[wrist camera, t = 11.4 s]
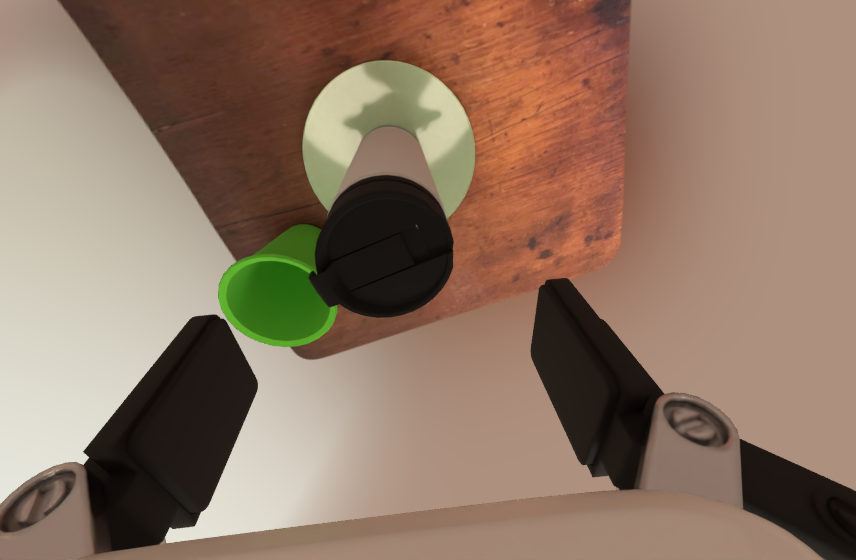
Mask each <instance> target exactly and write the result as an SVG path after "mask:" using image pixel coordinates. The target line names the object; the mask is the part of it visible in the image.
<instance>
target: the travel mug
mask: <svg viewBox="0 0 856 560" xmlns="http://www.w3.org/2000/svg"><path fill="white" fill-rule="evenodd" d="M453 243H454V242H453V238H452V234H451V230H450V227H449V224H448V220H447V216H446V213H445V210H444V207H443V204H442V202H441V199H440V196H439V194H438V191H437V188H436V185H435V183H434V180H433V177H432V175H431V172H430V169H429V167H428V164H427V161H426V158H425V156H424V153H423V150H422V148H421V146H420V144H419V142H418V141H417V139H416V138H415V137H414V136H413V135H412V134H411V133H410V132H409V131H407V130H405V129H403V128H401V127H398V126H392V125H386V126H380V127H377V128H375V129H373V130H371V131H370V132H369V133H368V134H366V135H365V136H364V138H363V139H362V141H361V142H360V144H359V147H358V149H357V151H356V153H355V155H354V157H353V159H352V161H351V164H350V166H349V168H348V170H347V172H346V174H345V176H344V179H343V181H342V183H341V185H340V187H339V189H338V191H337V194H336V196H335V198H334V200H333V202H332V204H331V207H330V209H329V211H328V214H327V218H326V220H325V223H324V225H323V227H322V229H321V232H320V234H319V236H318V238H317V242H316V248H315V265H316V271H317V274H316V273H315V272H314V271H311V272H310V275H309V277H308V278H309V280H310V282H311V284H312V286H313V287H314V289H315V290H316V292H317V293H318V295H319V296H320V297H321V299H322V300H323V301H324V302H325V304H326V305H327V306H328V307H333V306H336V305H338V304H340V305H342V306H343V307H345V308H347V309H348V310H350V311H352V312H355V313H358V314H361V315H364V316H370V317H377V318H381V317H394V316H400V315H404V314H406V313H409V312H412V311H415V310H416V309H418V308H420V307H422V306H424V305H425V304H427V303H428V302H429V301H430V300H432V299H433V298H434V297H435V296H436V295H437V294H438V293H439V292H440V291H441V290H442V288H443V287H444V285H445V284H446V282H447V280H448V279H449V276H450V274H451V271H452V269H453V250H452V249H453Z"/></svg>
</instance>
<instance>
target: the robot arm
mask: <svg viewBox="0 0 856 560" xmlns="http://www.w3.org/2000/svg"><path fill="white" fill-rule="evenodd" d="M531 357H532V360H533V362H534V365H535V367H536V369H537V371H538V374H539V376H540V378H541V380H542V382H543V384H544V387H545V389H546V391H547V393H548V395H549V397H550V400H551V402H552V404H553V406H554V408H555V410H556V412H557V415H558V417H559V419H560V421H561V423H562V426H563V428H564V430H565V432H566V434H567V436H568V439H569V441H570V443H571V445H572V447H573V450H574V451H575V454H576V456H577V458H578V460H579V462H580V463H581V464H582V465H587V466H588V468H589V470H590V472H591V474H592V477H600V476H608V475H609V477H610V479H611V481H612V483H613V485H614V486H616V487H617V489H616V491H598V492H588V493H578V494H568V495H558V496H548V497H538V498H529V499H520V500H512V501H503V502H495V503H487V504H478V505H470V506H461V507H452V508H444V509H435V510H427V511H419V512H411V513H403V514H394V515H387V516H378V517H370V518H363V519H354V520H346V521H338V522H331V523H322V524H314V525H306V526H298V527H290V528H282V529H274V530H266V531H259V532H252V533H244V534H235V535H228V536H220V537H213V538H205V539H197V540H190V541H181V542H174V543H167V544H166V540H165V536H166V534H167V532H168V530H169V528H170V527H171V528H172V529H176V528H185V527H192V526H195V524H196V522H197V520H198V518H199V515H200V513H201V512H202V511H204V510H205V509H206V508H207V507H208V505H209V503H210V501H211V499H212V496H213V494H214V491H215V489H216V487H217V484H218V482H219V480H220V477H221V475H222V473H223V470H224V468H225V466H226V463H227V461H228V458H229V456H230V454H231V451H232V449H233V447H234V444H235V442H236V440H237V437H238V435H239V433H240V430H241V428H242V425H243V423H244V421H245V418H246V416H247V414H248V411H249V409H250V407H251V404H252V402H253V399H254V397H255V395H256V392H257V389H258V382H257V379H256V377H255V375H254V373H253V371H252V369H251V367H250V366H249V364H248V362H247V360H246V358H245V356H244V354H243V352H242V350H241V348H240V346H239V344H238V343H237V341H236V339H235V337H234V335H233V333H232V331H231V329H230V327H229V326H228V324H227V322H226V320H224V319H220V317H218V316H217V315H204V316H195V317H192V318H191V319H190V320H189V321H188V322H187V324H186V325H185V326H184V327H183V329H182V330H181V331H180V332H179V334H178V335H177V336H176V337H175V338H174V340H173V341H172V342H171V343H170V345H169V346H168V347H167V348H166V350H165V351H164V352H163V353H162V355H161V356H160V357H159V358H158V360H157V361H156V362H155V364H153V366H152V367H151V368H150V370H149V371H148V372H147V373H146V374H145V376H144V377H143V378H142V379H141V381H140V382H139V383H138V384H137V386H136V387H135V388H134V389H133V391H132V392H131V393H130V394H129V395H128V397H127V398H126V399H125V400H124V402H123V403H122V404H121V406H120V407H119V408H118V409H117V410H116V412H115V413H114V414H113V415H112V417H111V418H110V419H109V420H108V422H107V423H106V424H105V425H104V427H103V428H102V429H101V430H100V431H99V433H98V434H97V435H96V437H95V438H94V439H93V440H92V441H91V443H90V444H89V445H88V446H87V448H86V449H85V450H84V451H83V452H84V453H85V454H86V455H87V456H88V457H89V459H88V460H87V461H86V462H85V464H84V465H82V464H79V463H77V462H68V463H63V464H60V465H57V466H53V467H51V468H49V469H47V470H45V471H43V472H41V473H39V474H37V475H36V476H34V477H32V478H31V479H29V480H28V481H26V482H25V483H23V484H22V485H21V486H20V487H18V488H17V489H16V490H15V491H14V492H12V493H11V494H10V495H9V496H8V497H7V498H6V499H5V500H4V501H3V502H2V503H1V505H0V560H856V491H854V490H852V489H850V488H848V487H846V486H843V485H841V484H839V483H837V482H835V481H832V480H830V479H828V478H826V477H824V476H821V475H819V474H817V473H815V472H812V471H810V470H808V469H806V468H804V467H801V466H799V465H797V464H795V463H792V462H790V461H788V460H786V459H784V458H781V457H779V456H777V455H775V454H772V453H770V452H768V451H766V450H764V449H761V448H759V447H757V446H755V445H753V444H750V443H748V442H746V441H744V440H742V439H739V435H738V431H737V429H736V427H735V426H734V424H733V423H732V421H731V420H730V419H729V418H728V417H727V416H726V415H725V414H724V413H723V412H722V411H721V410H720V409H718V408H717V407H715V406H714V405H712V404H711V403H709V402H707V401H705V400H703V399H701V398H699V397H697V396H693V395H689V394H686V393H674V392H673V393H668V394H664V393H663V392H662V390H661V389H660V388H659V387H658V385H657V384H656V383H655V382H654V380H653V379H652V378H651V377H650V376H649V374H648V373H647V372H646V371H645V370H644V368H643V367H642V366H641V365H640V363H639V362H638V361H637V360H636V358H635V357H634V356H633V355H632V354H631V352H630V351H629V350H628V349H627V347H626V346H625V345H624V344H623V343H622V341H621V340H620V339H619V338H618V336H617V335H616V334H615V333H614V331H613V330H612V329H611V328H610V326H609V325H608V324H607V323H606V322H605V321H604V320H602V319H600V318H599V317H598V315H597V314H596V313H595V312H594V310H593V309H592V308H591V307H590V305H589V304H588V303H587V302H586V300H585V299H584V298H583V297H582V295H581V294H580V293H579V292H578V290H577V289H576V288H575V287H574V285H573V284H572V283H571V282H570V280H569V279H567V278H560V279H551V280H547V281H546V282H545V285H541V286H540V288H539V293H538V301H537V308H536V315H535V323H534V329H533V336H532V344H531Z"/></svg>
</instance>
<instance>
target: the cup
mask: <svg viewBox="0 0 856 560" xmlns="http://www.w3.org/2000/svg"><path fill="white" fill-rule="evenodd" d="M320 232H321V229H319V228H318V227H315V226H313V225H307V224H299V225H296V226H293V227H291V228H289V229H288V230H286V231H285V232H284V233H282V234H281V235H280V236H278V237H277V238H276V239H274V240H273V241H271V242H270V243H269V244H267V245H266V246H265V247H263V248H262V249H261V250H259V251H258V252H257V253H255V254H254V255H252V256H250V257H247V258H243V259H241V260H240V261H238V262H236V263H235V264H233V265H231V266H230V267H229V269H228V270H227V271H226V272H225V273H224V274H223V276H222V279H221V281H220V283H219V291H218V298H219V302H220V306H221V309H222V311H223V313H224V314H225V316H226V318H227V320H228V321H229V322H230V323H231V324H232V325H233V326H234V327H235V328H236V329H237V330H239V331H240V332H242V333H243V334H244V335H246V336H248V337H250V338H252V339H254V340H256V341H258V342H262V343H265V344H269V345H272V346H282V347H290V346H299V345H303V344H307V343H310V342H312V341H314V340H316V339H318V338H320V337H321V336H322V335H323V334H324V333H326V332H327V331H328V330H329V329H330V327H331V326H332V324H333V323H334V321H335V317H336V314H337V305H336V306H333V307H328V306H327V305H326V304H325V302H324V301H323V300H322V299H321V297H320V296H319V295H318V293H317V292H316V290H315V289H314V287H313V286H312V284H311V282H310V280H309V278H308V277H309V275H310V272H311V271H314V272H315V273H316V274H317V271H316V265H315V248H316V242H317V238H318V236H319V234H320Z"/></svg>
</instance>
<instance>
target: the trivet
mask: <svg viewBox="0 0 856 560" xmlns="http://www.w3.org/2000/svg"><path fill="white" fill-rule="evenodd" d="M386 125H392V126H398V127H401V128H403V129H405V130H407V131H409V132H410V133H411V134H412V135H413V136H414V137H415V138H416V139H417V141H418V142H419V144H420V146H421V148H422V150H423V153H424V156H425V158H426V161H427V164H428V167H429V169H430V172H431V175H432V177H433V180H434V183H435V185H436V188H437V191H438V194H439V196H440V199H441V202H442V204H443V207H444V210H445V213H446V216H447V218H448V217H449V216H451V215H452V214H453V212H454V211H455V210H456V209H457V207H458V206H459V205H460V203H461V202H462V200H463V198H464V197H465V195H466V193H467V191H468V188H469V186H470V183H471V180H472V177H473V171H474V166H475V141H474V136H473V131H472V128H471V124H470V121H469V119H468V116H467V114H466V112H465V110H464V108H463V106H462V105H461V103H460V102H459V100H458V98H457V97H456V96H455V95H454V93H453V92H452V91H451V90H450V89H449V88H448V87H447V86H446V85H445V84H444V83H443V82H442V81H441V80H440V79H438V78H437V77H435V76H434V75H432V74H431V73H429V72H428V71H426V70H424V69H422V68H420V67H417V66H415V65H411V64H408V63H405V62H399V61H393V60H377V61H371V62H365V63H362V64H359V65H356V66H353V67H351V68H349V69H348V70H346V71H344V72H342V73H340V74H339V75H338V76H336V77H335V78H334V79H332V80H331V81H330V82H329V83H328V84H327V85H326V86H325V87H324V88H323V89H322V91H321V92H320V94H319V95H318V96H317V98H316V99H315V101H314V103H313V105H312V107H311V109H310V111H309V113H308V116H307V119H306V122H305V127H304V132H303V143H302V150H303V161H304V166H305V171H306V174H307V177H308V180H309V182H310V184H311V187H312V189H313V191H314V193H315V194H316V196H317V197H318V199H319V201H320V202H321V203H322V205H323V206H324V207H325V208H326V209H327V211H329V209H330V207H331V204H332V202H333V200H334V198H335V196H336V194H337V191H338V189H339V187H340V185H341V183H342V181H343V179H344V176H345V174H346V172H347V170H348V168H349V166H350V164H351V161H352V159H353V157H354V155H355V153H356V151H357V149H358V147H359V144H360V142H361V141H362V139H363V138H364V136H365V135H366V134H368V133H369V132H370V131H371V130H373V129H375V128H377V127H380V126H386Z"/></svg>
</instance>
